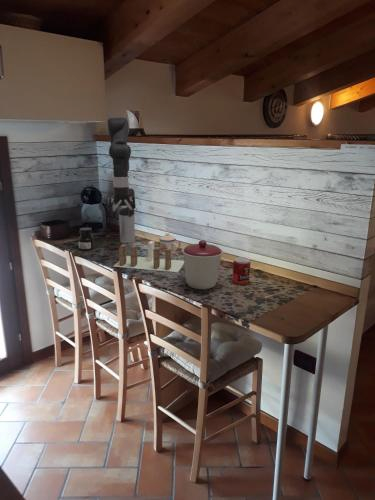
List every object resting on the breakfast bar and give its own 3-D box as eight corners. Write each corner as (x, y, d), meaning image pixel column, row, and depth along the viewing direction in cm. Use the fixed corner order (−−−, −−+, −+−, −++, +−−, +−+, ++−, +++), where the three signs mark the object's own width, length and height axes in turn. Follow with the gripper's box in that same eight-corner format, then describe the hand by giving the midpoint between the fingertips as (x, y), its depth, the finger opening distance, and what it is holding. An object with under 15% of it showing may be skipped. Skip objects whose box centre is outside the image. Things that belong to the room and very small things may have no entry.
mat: (125, 256, 214) (125, 255, 214) (185, 261, 208) (185, 260, 208) (112, 266, 197) (112, 266, 197) (177, 272, 190) (177, 272, 190)
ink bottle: (75, 249, 225) (73, 229, 221) (84, 245, 233) (83, 226, 229) (89, 251, 221) (87, 231, 218) (98, 248, 229) (97, 228, 226)
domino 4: (156, 265, 199) (156, 247, 196) (159, 266, 198) (159, 247, 196) (153, 268, 194) (153, 249, 191) (156, 269, 194) (156, 250, 191)
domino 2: (134, 263, 201) (133, 245, 198) (137, 264, 201) (137, 245, 198) (130, 266, 196) (130, 247, 194) (134, 267, 196) (133, 248, 193)
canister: (229, 285, 175) (231, 240, 169) (203, 296, 163) (205, 248, 157) (199, 275, 187) (200, 233, 181) (172, 285, 174) (173, 240, 169)
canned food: (238, 286, 175) (240, 263, 172) (228, 280, 182) (230, 258, 179) (252, 283, 179) (254, 260, 175) (242, 278, 185) (243, 256, 182)
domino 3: (151, 258, 210) (150, 240, 207) (154, 259, 209) (154, 241, 207) (148, 261, 205) (148, 243, 202) (151, 261, 205) (151, 243, 202)
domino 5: (167, 266, 198) (167, 247, 195) (171, 267, 197) (171, 248, 194) (165, 269, 193) (165, 250, 190) (168, 270, 193) (168, 250, 190)
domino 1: (123, 262, 202) (122, 244, 199) (126, 263, 202) (125, 244, 199) (119, 265, 198) (118, 246, 195) (122, 266, 197) (122, 247, 194)
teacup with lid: (156, 253, 221) (156, 233, 218) (167, 250, 227) (167, 230, 224) (170, 257, 213) (170, 237, 210) (182, 254, 220) (182, 234, 216)
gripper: (131, 184, 200) (131, 215, 205) (104, 185, 193) (106, 217, 197) (137, 186, 194) (137, 217, 198) (110, 187, 187) (111, 220, 191)
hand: (121, 217), depth 198 cm, fingers open, 8 cm apart
